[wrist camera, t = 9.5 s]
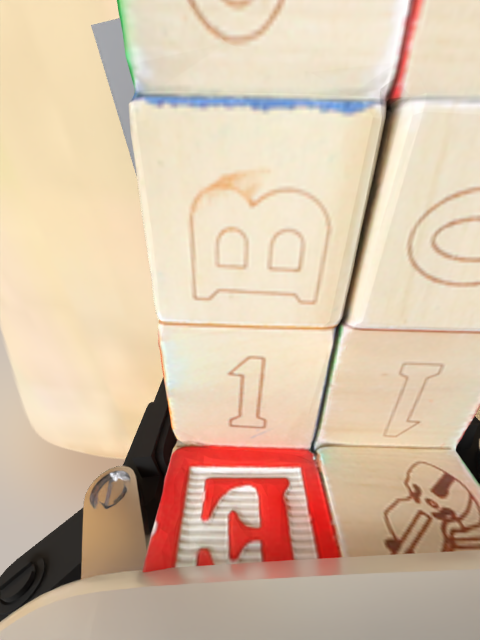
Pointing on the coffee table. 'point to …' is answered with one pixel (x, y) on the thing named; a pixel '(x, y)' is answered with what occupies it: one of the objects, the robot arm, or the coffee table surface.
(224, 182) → the stack of blocks
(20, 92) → the coffee table surface
